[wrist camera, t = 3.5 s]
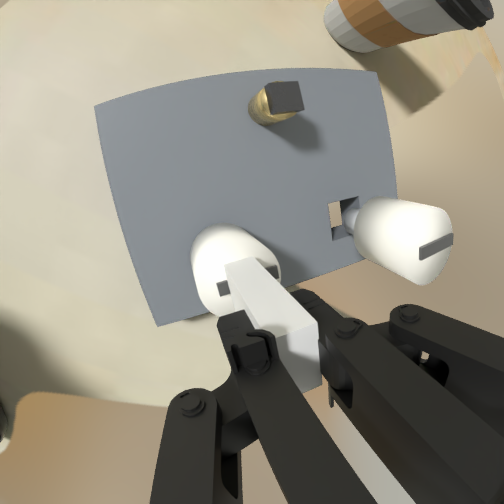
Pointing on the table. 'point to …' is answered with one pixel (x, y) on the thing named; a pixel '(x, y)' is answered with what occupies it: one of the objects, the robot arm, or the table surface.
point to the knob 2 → (402, 236)
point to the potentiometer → (276, 102)
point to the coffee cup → (400, 20)
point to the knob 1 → (222, 252)
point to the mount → (243, 173)
